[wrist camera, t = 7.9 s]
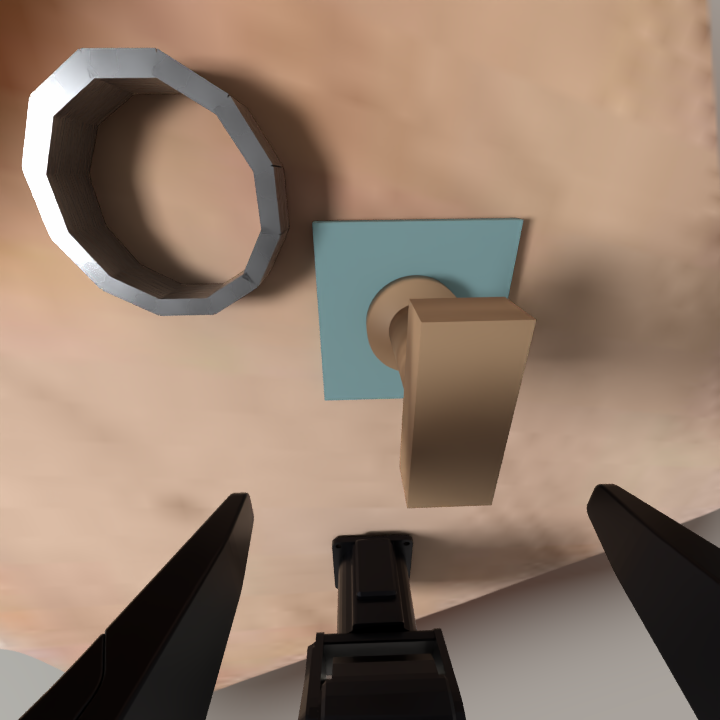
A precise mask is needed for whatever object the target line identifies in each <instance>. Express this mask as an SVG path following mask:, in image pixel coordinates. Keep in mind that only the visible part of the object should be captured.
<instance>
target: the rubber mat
mask: <svg viewBox="0 0 720 720" xmlns="http://www.w3.org/2000/svg"><path fill="white" fill-rule="evenodd" d="M522 225H523V219H519V218H480V219H414V220H347V221H313V222H312V226H313V241H314V255H315V269H316V283H317V297H318V312H319V326H320V340H321V354H322V368H323V382H324V397H325V400H358V399H394V398H403V397H404V388H403V385H402V381H401V377H400V374H399V371H397V370H394V369H392V368H390V367H388V366H386V365H385V364H383V363H382V362H381V361H380V360H379V359H378V358H377V357H376V356H375V354H374V353H373V351H372V349H371V347H370V345H369V341H368V336H367V329H366V316H367V311H368V308H369V306H370V304H371V302H372V300H373V298H374V297H375V295H376V294H377V293H378V292H379V291H380V290H381V289H382V288H383V287H384V286H385V285H387V284H388V283H390V282H392V281H394V280H396V279H398V278H401V277H405V276H410V275H422V276H428V277H431V278H434V279H436V280H438V281H440V282H441V283H443V284H444V285H445V286H446V287H447V288H448V289H449V290H450V291H451V292H452V293H453V294H454V295H455V296H456V298H470V297H506V298H507V299H508V296H509V291H510V286H511V280H512V275H513V270H514V265H515V260H516V255H517V250H518V245H519V240H520V235H521V230H522Z"/></svg>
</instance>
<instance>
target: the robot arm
mask: <svg viewBox="0 0 720 720" xmlns="http://www.w3.org/2000/svg"><path fill="white" fill-rule="evenodd" d="M587 513H588V516H589V518H590V520H591V523H592V525H593V527H594V529H595V531H596V533H597V536H598V538H599V540H600V542H601V544H602V546H603V549H604V551H605V553H606V555H607V557H608V559H609V561H610V564H611V566H612V568H613V570H614V572H615V574H616V576H617V578H618V580H619V581H620V583H621V585H622V587H623V589H624V590H625V592H626V594H627V596H628V597H629V599H630V601H631V602H632V604H633V606H634V608H635V610H636V611H637V613H638V615H639V616H640V618H641V620H642V622H643V624H644V625H645V627H646V629H647V631H648V632H649V634H650V636H651V638H652V639H653V641H654V643H655V644H656V646H657V648H658V650H659V652H660V653H661V655H662V657H663V659H664V660H665V662H666V664H667V666H668V667H669V669H670V671H671V673H672V675H673V676H674V678H675V680H676V682H677V683H678V685H679V687H680V688H681V690H682V692H683V694H684V695H685V697H686V699H687V701H688V702H689V704H690V706H691V708H692V710H693V711H694V713H695V715H696V717H697V718H698V720H720V548H718V547H717V546H715V545H714V544H712V543H710V542H709V541H707V540H705V539H704V538H702V537H700V536H699V535H697V534H696V533H694V532H692V531H691V530H689V529H687V528H686V527H684V526H683V525H681V524H679V523H678V522H676V521H674V520H673V519H671V518H669V517H668V516H666V515H665V514H663V513H661V512H660V511H658V510H656V509H655V508H653V507H652V506H650V505H648V504H647V503H645V502H643V501H642V500H640V499H638V498H637V497H635V496H634V495H632V494H630V493H629V492H627V491H625V490H624V489H622V488H621V487H619V486H617V485H614V484H599V485H597V486H596V487H595V488H594V491H593V493H592V495H591V497H590V500H589V502H588V504H587ZM253 521H254V514H253V509H252V504H251V500H250V496H249V494H248V493H232V494H231V495H230V496H229V497H228V498H227V499H226V500H225V501H224V502H223V503H222V504H221V505H220V506H219V507H218V508H217V510H216V511H215V512H214V513H213V514H212V515H211V516H210V517H209V518H208V519H207V520H206V521H205V523H204V524H203V525H202V526H201V527H200V528H199V529H198V530H197V531H196V532H195V533H194V534H193V536H192V537H191V538H190V539H189V540H188V541H187V542H186V543H185V544H184V545H183V546H182V547H181V549H180V550H179V551H178V552H177V553H176V554H175V555H174V556H173V557H172V558H171V559H170V560H169V562H168V563H167V564H166V565H165V566H164V567H163V568H162V569H161V570H160V571H159V572H158V573H157V575H156V576H155V577H154V578H153V579H152V580H151V581H150V582H149V583H148V584H147V585H146V586H145V588H144V589H143V590H142V591H141V592H140V593H139V594H138V595H137V596H136V597H135V598H134V599H133V601H132V602H131V603H130V604H129V605H128V606H127V607H126V608H125V609H124V610H123V611H122V612H121V614H120V615H119V616H118V617H117V618H116V619H115V620H114V621H113V622H112V623H111V624H110V625H109V627H108V628H107V629H106V630H105V634H101V635H100V636H99V637H98V638H97V639H96V640H95V641H94V643H93V644H92V645H91V646H90V647H89V648H88V649H87V650H86V651H85V652H84V653H83V654H82V655H81V657H80V658H79V659H78V660H77V661H76V662H75V663H74V664H73V665H72V666H71V667H70V668H69V669H68V670H67V671H66V672H65V673H64V674H63V675H62V676H61V678H60V679H59V680H58V681H57V682H56V683H55V684H54V685H53V686H52V687H51V688H50V689H49V690H48V691H47V692H46V693H45V694H44V695H43V696H42V697H41V698H40V699H39V700H38V701H37V702H36V703H35V704H34V705H33V706H32V707H31V708H30V709H29V710H28V711H27V712H25V714H24V715H22V716H21V717H20V718H19V720H205V719H206V716H207V712H208V709H209V705H210V702H211V698H212V695H213V691H214V687H215V684H216V680H217V677H218V673H219V669H220V666H221V662H222V659H223V655H224V652H225V648H226V644H227V641H228V637H229V634H230V630H231V627H232V623H233V619H234V616H235V612H236V609H237V605H238V602H239V598H240V594H241V590H242V585H243V580H244V575H245V569H246V563H247V557H248V551H249V546H250V540H251V534H252V528H253ZM412 547H413V542H412V537H411V536H409V535H398V536H372V537H346V538H335V539H334V540H333V541H332V551H333V564H334V577H335V587H336V588H337V589H338V616H337V634H324V632H319V633H316V642H314V643H313V644H312V645H310V646H308V650H307V662H306V673H305V681H304V687H303V693H302V699H301V705H300V711H299V717H298V720H466V717H465V712H464V707H463V702H462V698H461V695H460V691H459V688H458V685H457V681H456V678H455V675H454V671H453V668H452V664H451V661H450V658H449V654H448V651H447V647H446V644H445V641H444V638H443V634H442V631H441V629H440V628H434V629H433V630H425V631H417V629H416V623H415V616H414V609H413V603H412V597H411V590H410V584H409V578H410V568H411V558H412ZM326 675H332V679H326Z"/></svg>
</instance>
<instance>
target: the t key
mask: <svg viewBox="0 0 720 720" xmlns="http://www.w3.org/2000/svg"><path fill="white" fill-rule="evenodd" d="M535 323H536V319H535V318H533V317H532V316H531V315H529V314H528V313H526V312H525V311H524V310H522V309H521V308H520V307H518V306H517V305H515V304H514V303H513V302H511V301H510V300H509V299H507V298H506V297H470V298H456V296H455V295H454V294H453V293H452V292H451V291H450V290H449V289H448V288H447V287H446V286H445V285H444V284H443V283H441V282H440V281H438V280H436V279H434V278H431V277H428V276H422V275H410V276H405V277H401V278H398V279H396V280H394V281H392V282H390V283H388V284H387V285H385V286H384V287H383V288H382V289H381V290H380V291H379V292H378V293H377V294H376V295H375V297H374V298H373V300H372V302H371V304H370V306H369V308H368V311H367V316H366V329H367V336H368V341H369V345H370V347H371V349H372V351H373V353H374V354H375V356H376V357H377V358H378V359H379V360H380V361H381V362H382V363H383V364H385V365H386V366H388V367H390V368H392V369H394V370H397V371H399V374H400V377H401V381H402V385H403V388H404V397H403V415H402V433H401V450H400V471H401V477H402V482H403V487H404V493H405V498H406V504H407V508H427V507H454V506H481V505H492V501H493V497H494V493H495V488H496V484H497V480H498V476H499V472H500V468H501V464H502V460H503V455H504V451H505V447H506V443H507V439H508V435H509V431H510V427H511V422H512V418H513V414H514V410H515V406H516V402H517V398H518V394H519V389H520V385H521V381H522V377H523V373H524V369H525V365H526V360H527V356H528V352H529V348H530V344H531V340H532V336H533V332H534V327H535Z"/></svg>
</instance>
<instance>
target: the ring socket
mask: <svg viewBox="0 0 720 720" xmlns="http://www.w3.org/2000/svg"><path fill="white" fill-rule="evenodd" d="M133 94H184V95H185V96H187V97H189V98H190V99H192V100H193V101H195V102H197V103H198V104H200V105H202V106H203V107H205V108H206V109H208V110H210V111H211V112H213V113H215V114H216V115H217V116H218V118H219V120H220V121H221V123H222V124H223V126H224V127H225V129H226V130H227V132H228V133H229V135H230V136H231V138H232V140H233V141H234V143H235V144H236V146H237V147H238V149H239V150H240V152H241V153H242V155H243V156H244V158H245V160H246V161H247V163H248V164H249V166H250V167H251V169H252V170H253V172H254V179H255V187H256V194H257V201H258V209H259V216H260V224H261V232H260V234H259V237H258V239H257V242H256V244H255V247H254V249H253V251H252V254H251V256H250V259H249V261H248V264H247V266H246V269H245V270H244V271H242V272H241V273H239V274H238V275H236V276H235V277H233V278H232V279H230V280H229V281H227V282H226V283H224V284H186V285H182V284H180V283H178V282H176V281H174V280H172V279H170V278H168V277H166V276H163V275H161V274H159V273H157V272H155V271H153V270H151V269H149V268H147V267H144V266H142V265H140V264H139V263H138V261H137V260H136V259H135V258H134V257H133V256H132V255H131V254H130V252H129V251H128V250H127V249H126V248H125V247H124V246H123V245H122V244H121V242H120V241H119V240H118V239H117V238H116V237H115V236H114V235H113V233H112V232H111V231H110V230H109V229H108V228H107V227H106V225H105V222H104V219H103V216H102V213H101V210H100V207H99V204H98V201H97V198H96V195H95V192H94V189H93V186H92V183H91V180H90V177H89V171H90V166H91V160H92V155H93V149H94V144H95V138H96V133H97V127H98V125H99V124H100V123H101V122H102V121H104V120H105V119H106V118H107V117H108V116H109V115H110V114H112V113H113V112H114V111H115V110H116V109H117V108H119V107H120V106H121V105H122V104H123V103H124V102H125V101H127V100H128V99H129V98H130V97H131V96H132V95H133ZM22 167H23V168H25V169H23V172H24V174H25V177H26V179H27V182H28V184H29V186H30V189H31V191H32V194H33V196H34V199H35V201H36V204H37V206H38V208H39V211H40V213H41V216H42V218H43V221H44V223H45V225H46V228H47V230H48V233H49V235H50V237H54V238H52V240H53V241H54V242H55V243H56V244H57V245H58V246H59V247H60V248H61V249H62V250H63V251H64V252H65V253H66V254H67V255H68V256H69V257H70V258H71V260H72V261H73V262H74V263H75V264H76V265H77V266H78V267H79V268H80V269H81V270H82V271H83V272H84V273H85V274H86V275H87V276H88V277H89V278H90V279H91V280H92V281H93V282H94V283H95V284H96V285H97V286H98V287H99V288H100V289H102V288H103V289H102V290H103V291H105V292H107V293H109V294H112V295H114V296H116V297H118V298H121V299H123V300H125V301H127V302H130V303H132V304H134V305H136V306H139V307H141V308H143V309H145V310H148V311H150V312H152V313H154V314H157V315H160V316H173V315H214V314H217V313H218V312H220V311H221V310H223V309H224V308H226V307H228V306H229V305H231V304H232V303H234V302H235V301H237V300H238V299H240V298H242V297H243V296H245V295H246V294H248V293H249V292H251V291H253V290H254V289H256V288H257V287H258V286H259V285H260V284H261V283H262V282H263V280H264V279H265V278H266V277H267V276H268V274H269V273H270V271H271V269H272V267H273V264H274V262H275V260H276V257H277V255H278V253H279V251H280V248H281V246H282V244H283V242H284V239H285V237H286V235H287V232H288V230H289V227H290V226H289V216H288V206H287V196H286V186H285V176H284V168H282V167H283V166H282V164H281V162H280V161H279V159H278V157H277V156H276V154H275V153H274V151H273V149H272V148H271V146H270V144H269V143H268V141H267V139H266V138H265V136H264V134H263V133H262V131H261V130H260V128H259V126H258V125H257V123H256V121H255V120H254V118H253V116H252V115H251V113H250V111H249V110H248V108H246V107H245V106H244V105H243V104H241V103H240V102H239V101H237V100H236V99H235V98H233V97H232V96H230V95H229V94H228V93H226V92H224V91H223V90H221V89H220V88H218V87H217V86H215V85H213V84H212V83H210V82H209V81H207V80H206V79H204V78H203V77H201V76H199V75H198V74H196V73H195V72H193V71H192V70H190V69H188V68H187V67H185V66H184V65H182V64H181V63H179V62H177V61H176V60H174V59H173V58H171V57H170V56H168V55H167V54H165V53H163V52H162V51H160V50H159V49H156V48H81V50H80V49H78V50H77V51H76V52H75V53H74V54H73V55H72V56H71V57H70V58H69V59H67V60H66V61H65V62H64V63H63V64H62V65H61V66H60V67H59V68H58V69H57V70H56V71H55V72H54V73H53V74H52V75H51V76H50V77H49V78H48V79H47V80H45V81H44V82H43V83H42V84H41V85H40V86H39V87H38V88H37V89H36V90H35V91H34V92H33V93H32V94H31V97H29V106H28V115H27V125H26V134H25V144H24V153H23V163H22Z"/></svg>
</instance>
